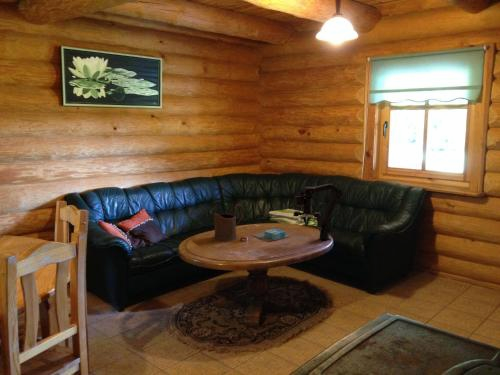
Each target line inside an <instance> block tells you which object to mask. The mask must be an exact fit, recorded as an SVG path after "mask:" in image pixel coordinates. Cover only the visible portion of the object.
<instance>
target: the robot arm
mask: <svg viewBox="0 0 500 375" xmlns="http://www.w3.org/2000/svg"><path fill="white" fill-rule="evenodd" d="M325 191H329V192H330V196H329V197H330V198H329V199H330V200H329V201H328V204H327V206H326V209H325V211H324V212H323V215H322V216H321V212H320V211H319V212H318V211H315V212H314V213H313V207H312V199H315V196H313V195H315V194H317V193H319V192H325ZM343 194H344V193H343V191H342V189H338V188H337V187H336V186H334V185H333V184H332V183H325V184H321V185H316V186H304V187H302V191H301V192H300V193H299V195H295V196H294V197H293V200H292V204H293V206H295V207H299V206H302V212H301V211H300V210H295V211H293V217H299V216H301V217H300V218H301V219H303V221H304V224H305V226H306V227H308V225H309V223H310V221H311V219H312V218H313V217H314V219H315V218H317V219H318V220H317V222H316V227H317V229H318V230H319V237H318V240H320V241H323V242H327V241H331V238H330V233H331V232H332V229H331V227H329V225H330V218H331V215H332V213H333V211H334V209H335V207H336V204H337V203H338V201H339V200H340V199H341V198H342V197H343Z"/></svg>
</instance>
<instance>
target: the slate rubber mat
mask: <svg viewBox="0 0 500 375" xmlns="http://www.w3.org/2000/svg"><path fill="white" fill-rule="evenodd" d="M251 236H253V237H255V238H257V239H261V240H263V241H265V242H272V241H274V240H272V239H269V238H266V237H265V231H264V232H258V233H254V234H251ZM290 237H291V235H290V234H287V233H285V238H284V239H286V238H290Z"/></svg>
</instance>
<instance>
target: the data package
mask: <svg viewBox="0 0 500 375" xmlns="http://www.w3.org/2000/svg"><path fill="white" fill-rule="evenodd" d="M264 232H265V237H266V238H269V239H272V240H273V241H277V240H282V239H286V238H285V234H286V230H282V229H278V228H272V229H267V230H264Z"/></svg>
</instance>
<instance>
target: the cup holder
mask: <svg viewBox="0 0 500 375" xmlns="http://www.w3.org/2000/svg"><path fill="white" fill-rule="evenodd" d="M238 206H241V216H240V218H239V219H238V220H237V219H236V218H237V217H236V216H237V207H238ZM213 215H214V216H213V218H214V235H213V238H212V239H213V241H215V242H217V241H218V242H217V243H232V242H236V241H237V240H238V239H239V238H238V236H237V226H238V225H239V224H240V222H241V220H242V219H243V217H244V205H243V204H241V203H237V204H236V205H235V206H234V214H230V213H216V212H214V213H213ZM236 220H237V222H236Z"/></svg>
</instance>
